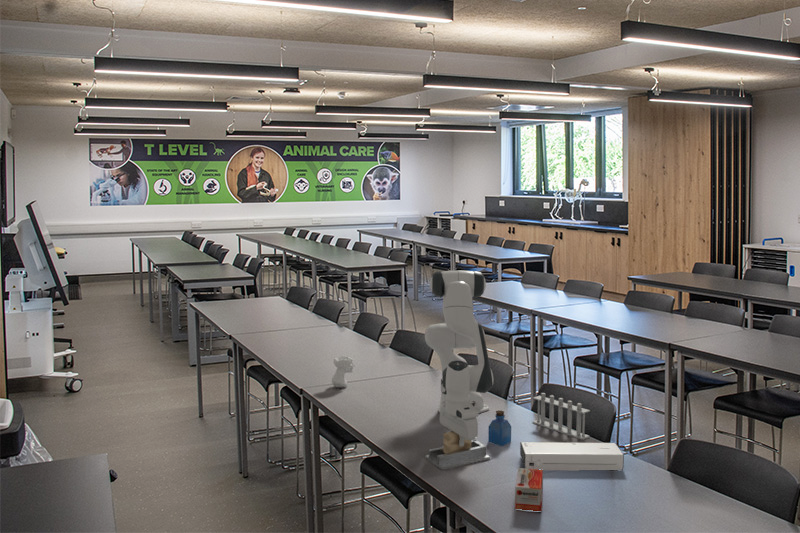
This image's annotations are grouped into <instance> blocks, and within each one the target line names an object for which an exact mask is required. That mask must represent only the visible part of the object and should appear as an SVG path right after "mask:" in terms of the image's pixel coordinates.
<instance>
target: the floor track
mask: <svg viewBox="0 0 800 533" xmlns="http://www.w3.org/2000/svg"><path fill="white" fill-rule="evenodd" d="M425 459H426V460H428V462H430V463H431V464H433V465H434V466H436V467H437V468H439V469H440V470H442V471H446V470H449V469H448V468H450V469H453V467H454V468H457V466H459V467H463V466H466V464H467V465H471V464H470V463H472V464H475V463H474V462H476V463H479V462H478V461H480V462H483V461H482V460H484V461H487V460H486V459H489V460H491V456H489V454H487V445H486V444H483V443H481V442H480V441H478V440H476V439H474V440H471V448H469V449H464V450H460V451H455V452H451V453H444V446H440V447H435V448H431V449H428V454H426V455H425ZM462 465H463V466H462ZM445 469H446V470H445Z"/></svg>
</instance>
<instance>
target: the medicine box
mask: <svg viewBox="0 0 800 533" xmlns="http://www.w3.org/2000/svg"><path fill="white" fill-rule="evenodd" d="M515 478H516V479H515V486H514V488H515V489H514V490H515V491H514V494H515V495H514V500H515V502H514V503H515V504H514V505H515V506H514V510H515V509H522V510H533V511H541V512H542V509H543V508H542V507H543V494H544V493H543V491H544V470H539V469H526V468H525V467H523V468H522V467H518V468H517V473H516V477H515Z"/></svg>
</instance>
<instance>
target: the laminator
mask: <svg viewBox="0 0 800 533" xmlns="http://www.w3.org/2000/svg"><path fill="white" fill-rule="evenodd" d="M519 444H520V445H519V447H520V448H519V449H520V452H519V453H520V454H519V455H520V457H521V460H522V462H523V465H524V468H526V469H541V470H542V469H543V471H579V470H622V471H623V470H624V466H625V465H624V461H625V460H624V459H625V458H624V457H625V454H624V453H623V451H622V450H621V449H620V448H619V446H618V444H617V443H616V442H551V441H550V442H544V441H543V442H542V441H541V442H540V441H539V442H538V441H537V442H536V441H535V442H531V441H529V442H527V441H525V442H524V441H522V442H521V441H520V443H519Z"/></svg>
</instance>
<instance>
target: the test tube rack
mask: <svg viewBox="0 0 800 533" xmlns="http://www.w3.org/2000/svg"><path fill="white" fill-rule="evenodd" d="M532 399H533V400H537V419H536V420H533V421H532V422H531V423H532V424H535V425H536V426H540V427H542V428H546V429H548V430H551V431H553V432H557V433H560V434H563V435H565V436H566V435H567V436H569V437H573V438H575V439H578V440H581V441H585V440H587V439H589V438H590V436H591V435H589V434H585V424H586V422H585V420H586V413H587V414H588V413H589V412H591V410H590V409H587V408H583V404H582V403H581V402H578V403H577V404H576V405H573V401H572V400H567V403H566V402H564V398H563V397H558V400H557V399H555V396H554V395H553V394H551V395H549V397H546V393H545V392H541V393H540V395H538V396H533V398H532ZM546 404H549V410H548V411H549V413H548V414H549V418H548V419H549V421H546ZM555 406H556V407H558V410H557V413H558V414H557V416H558V417H557V419H558V420H557V424H555V423H554V421H555V419H554V418H555V417H554V416H555V414H554V412H555ZM564 409H566V410H567V411H566V412H567V415H566V416H567V417H566V418H567V420H566V421H567V423H566V427H564V426H563V421H564V420H563V416H564V413H563V412H564ZM573 411H574V412H576V430H573V429H572V428H573V427H572V426H573V425H572V424H573V422H572V421H573Z"/></svg>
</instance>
